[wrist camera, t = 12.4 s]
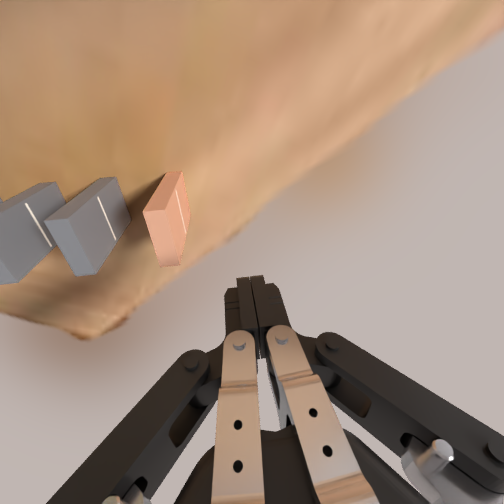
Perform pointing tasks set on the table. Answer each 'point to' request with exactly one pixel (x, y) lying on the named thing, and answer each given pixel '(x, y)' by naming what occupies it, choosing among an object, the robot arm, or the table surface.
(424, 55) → the table surface
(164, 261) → the domino
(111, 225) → the domino
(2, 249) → the domino
